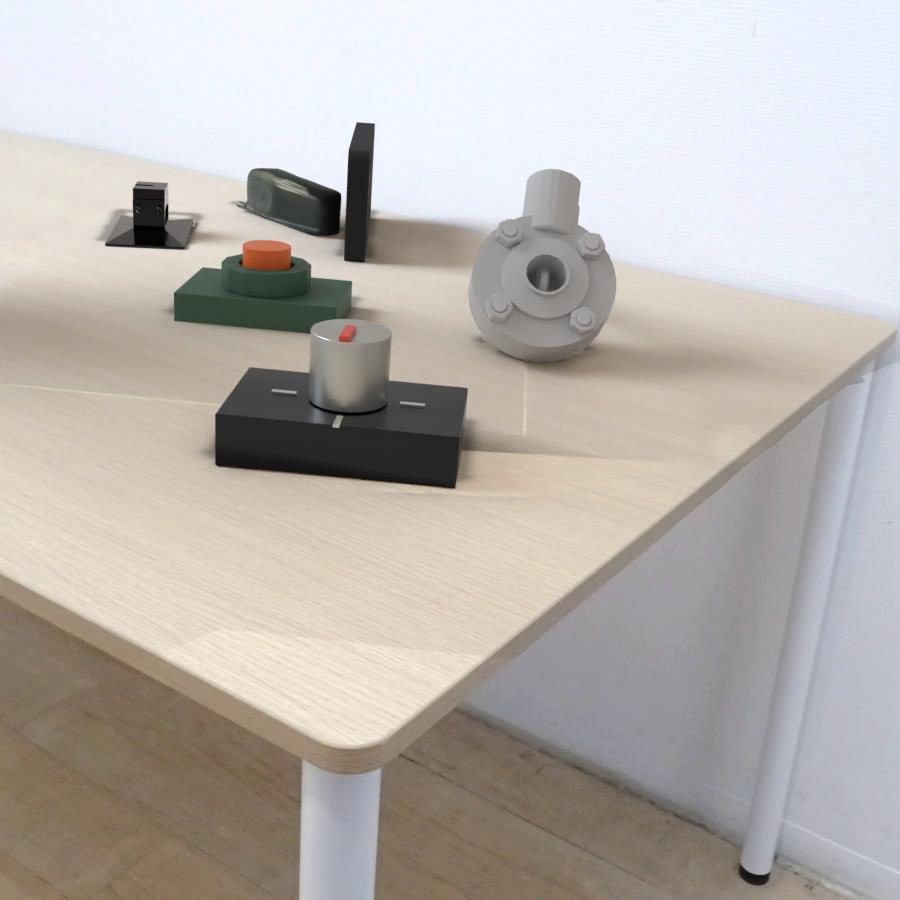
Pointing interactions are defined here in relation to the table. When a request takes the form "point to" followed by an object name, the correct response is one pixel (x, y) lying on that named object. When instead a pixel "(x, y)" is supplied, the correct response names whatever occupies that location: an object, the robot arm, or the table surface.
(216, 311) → the button box
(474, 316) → the mechanical valve
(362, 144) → the nameplate
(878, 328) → the table surface
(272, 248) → the button
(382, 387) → the knob
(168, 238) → the build plate
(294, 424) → the dial panel
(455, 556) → the table surface
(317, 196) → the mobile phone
